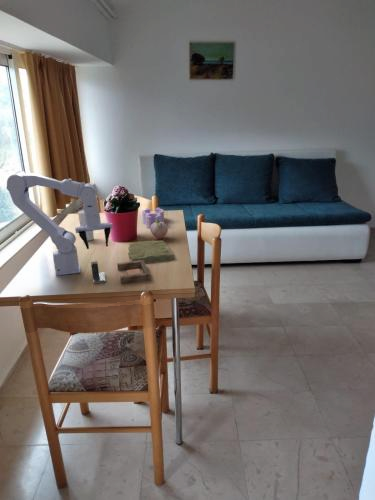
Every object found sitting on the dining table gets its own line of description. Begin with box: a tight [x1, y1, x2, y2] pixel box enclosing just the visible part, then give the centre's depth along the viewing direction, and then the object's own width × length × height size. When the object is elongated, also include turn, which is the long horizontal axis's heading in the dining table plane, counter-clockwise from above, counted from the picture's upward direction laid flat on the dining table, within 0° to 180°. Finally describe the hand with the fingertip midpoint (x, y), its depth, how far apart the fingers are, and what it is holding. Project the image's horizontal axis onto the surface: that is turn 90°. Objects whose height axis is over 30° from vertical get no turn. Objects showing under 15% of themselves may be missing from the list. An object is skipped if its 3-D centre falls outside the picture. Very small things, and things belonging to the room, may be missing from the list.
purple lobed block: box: [141, 207, 165, 230], centre depth 212 cm, size 20×12×7 cm, turn 6°
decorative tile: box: [127, 239, 174, 264], centre depth 168 cm, size 19×20×4 cm
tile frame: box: [116, 260, 151, 285], centre depth 148 cm, size 11×15×2 cm
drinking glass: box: [77, 209, 95, 242], centre depth 187 cm, size 7×7×15 cm
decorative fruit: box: [149, 220, 168, 240], centre depth 186 cm, size 9×8×10 cm
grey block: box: [90, 260, 106, 285], centre depth 144 cm, size 4×8×7 cm, turn 15°
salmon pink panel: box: [126, 268, 142, 276], centre depth 148 cm, size 5×5×2 cm
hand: (97, 247), depth 151 cm, fingers open, 7 cm apart
